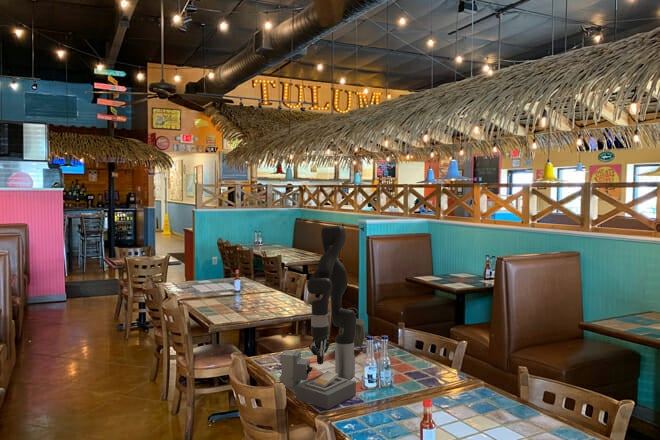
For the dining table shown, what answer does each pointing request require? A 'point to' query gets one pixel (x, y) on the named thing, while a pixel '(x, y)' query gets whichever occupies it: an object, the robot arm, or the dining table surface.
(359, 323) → the tabletop clock
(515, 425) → the dining table surface
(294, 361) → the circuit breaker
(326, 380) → the breaker rocker
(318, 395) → the box
